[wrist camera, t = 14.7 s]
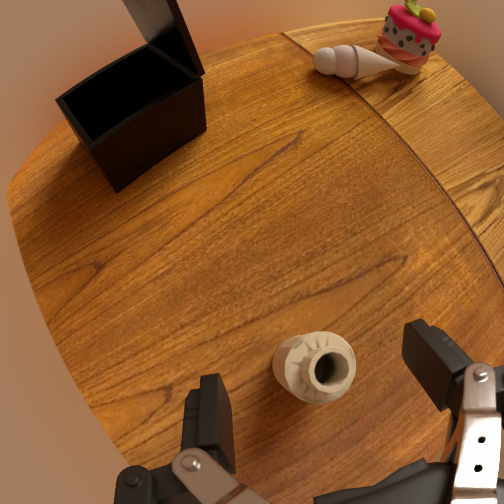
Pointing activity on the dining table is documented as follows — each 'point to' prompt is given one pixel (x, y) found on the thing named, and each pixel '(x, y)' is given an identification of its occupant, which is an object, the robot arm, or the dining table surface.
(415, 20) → the cake
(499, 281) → the dining table surface
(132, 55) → the bin
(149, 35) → the bin lid
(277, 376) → the bottle
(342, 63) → the ice cream cone
